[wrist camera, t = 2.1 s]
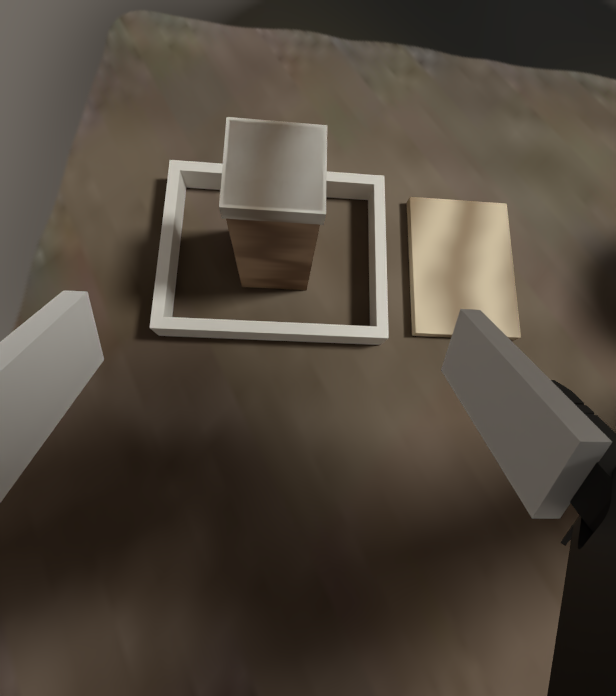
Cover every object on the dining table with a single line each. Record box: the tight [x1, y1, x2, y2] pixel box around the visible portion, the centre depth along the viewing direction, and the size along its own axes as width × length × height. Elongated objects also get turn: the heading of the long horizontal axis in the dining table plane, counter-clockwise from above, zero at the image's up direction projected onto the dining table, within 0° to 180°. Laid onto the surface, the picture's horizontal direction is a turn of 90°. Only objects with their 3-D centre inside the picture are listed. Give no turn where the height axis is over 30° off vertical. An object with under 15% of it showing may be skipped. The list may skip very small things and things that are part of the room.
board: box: [407, 197, 521, 340], centre depth 37 cm, size 10×14×1 cm
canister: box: [219, 117, 327, 290], centre depth 30 cm, size 6×6×13 cm
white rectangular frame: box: [150, 160, 388, 345], centre depth 35 cm, size 20×16×2 cm
